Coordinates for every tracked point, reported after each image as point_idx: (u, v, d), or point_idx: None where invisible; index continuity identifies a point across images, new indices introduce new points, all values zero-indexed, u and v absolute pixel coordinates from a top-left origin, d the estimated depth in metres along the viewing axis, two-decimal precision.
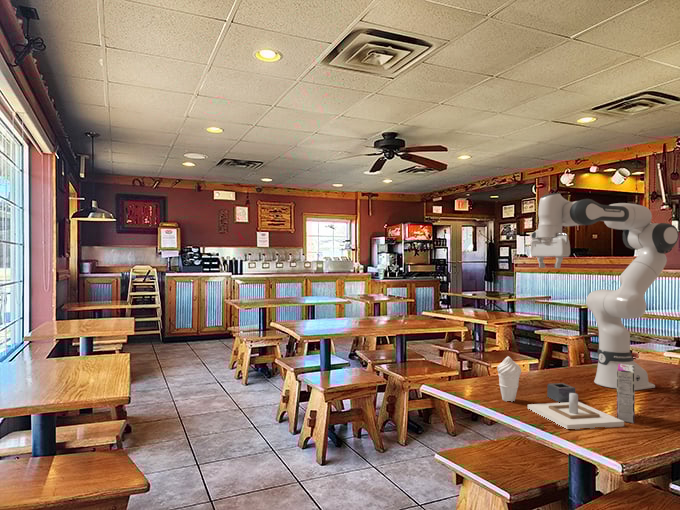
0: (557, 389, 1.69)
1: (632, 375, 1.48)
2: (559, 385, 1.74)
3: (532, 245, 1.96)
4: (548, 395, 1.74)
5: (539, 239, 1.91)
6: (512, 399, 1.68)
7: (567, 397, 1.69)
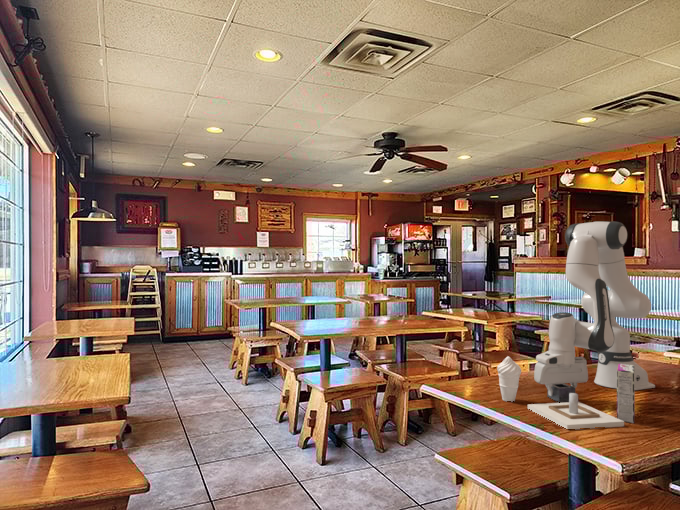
0: (557, 389, 1.69)
1: (632, 375, 1.48)
2: (559, 385, 1.74)
3: (544, 371, 1.68)
4: (548, 395, 1.74)
5: (557, 365, 1.69)
6: (512, 399, 1.68)
7: (567, 397, 1.69)
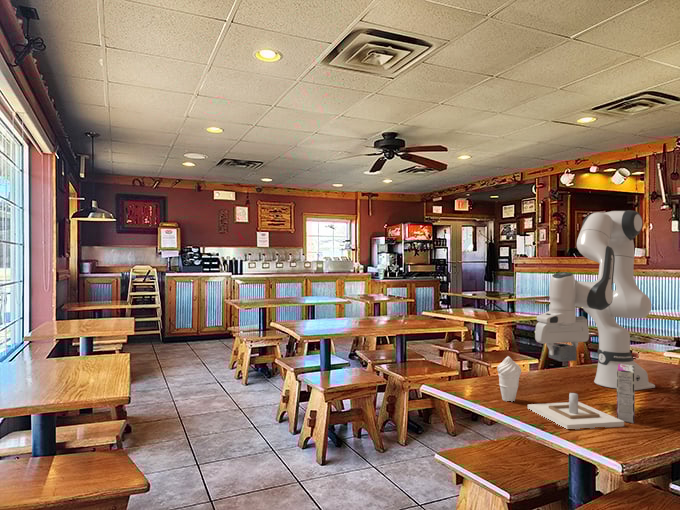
0: (558, 348, 1.70)
1: (632, 375, 1.48)
2: (560, 345, 1.75)
3: (545, 331, 1.69)
4: (549, 355, 1.74)
5: (558, 324, 1.69)
6: (512, 399, 1.68)
7: (568, 356, 1.69)
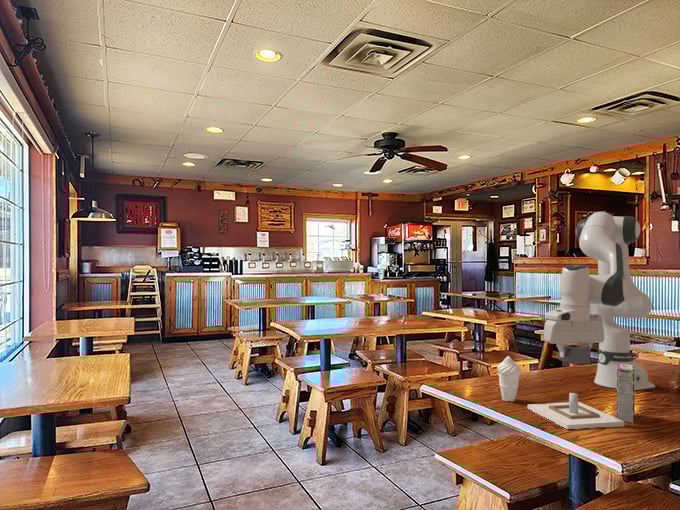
0: (569, 349, 1.50)
1: (632, 375, 1.48)
2: (572, 346, 1.55)
3: (556, 329, 1.49)
4: (559, 357, 1.55)
5: (570, 322, 1.50)
6: (512, 399, 1.68)
7: (581, 358, 1.50)
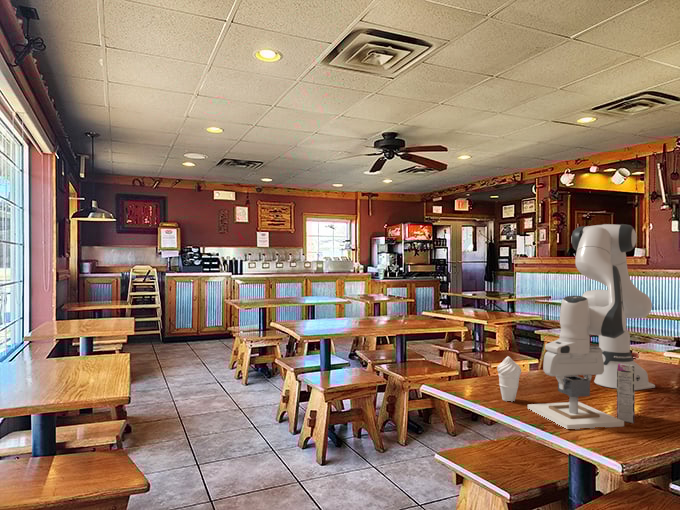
0: (569, 382, 1.50)
1: (632, 375, 1.48)
2: (571, 377, 1.55)
3: (555, 362, 1.49)
4: (559, 389, 1.55)
5: None
6: (512, 399, 1.68)
7: (581, 391, 1.50)
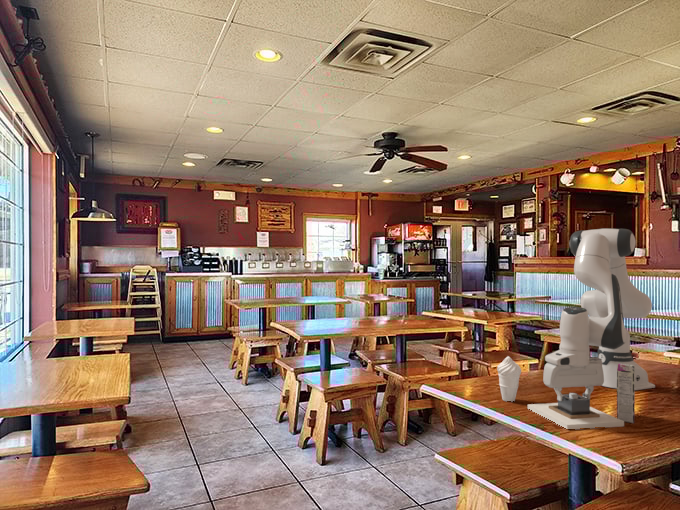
0: (569, 401, 1.50)
1: (632, 375, 1.48)
2: None
3: (555, 373, 1.49)
4: (559, 407, 1.55)
5: (570, 366, 1.50)
6: (512, 399, 1.68)
7: (581, 410, 1.50)
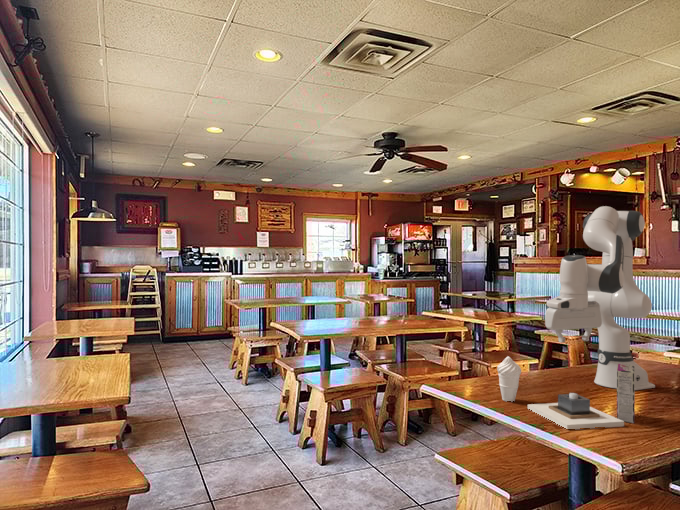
0: (569, 401, 1.50)
1: (632, 375, 1.48)
2: None
3: (556, 316, 1.59)
4: (559, 407, 1.55)
5: (569, 309, 1.60)
6: (512, 399, 1.68)
7: (581, 410, 1.50)
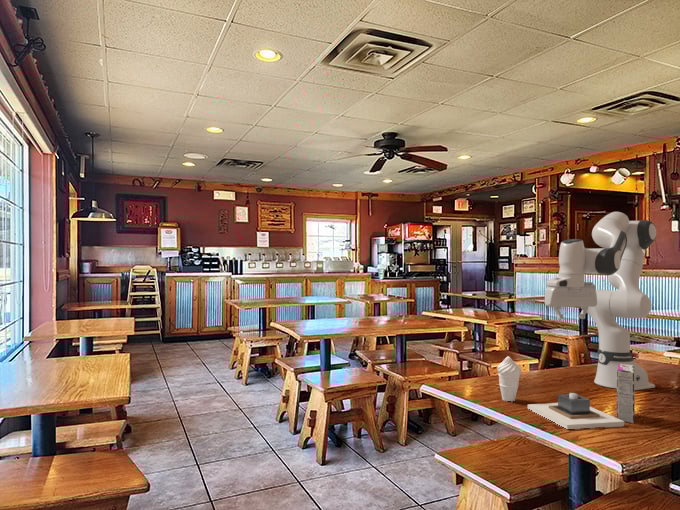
0: (569, 401, 1.50)
1: (632, 375, 1.48)
2: None
3: (555, 294, 1.73)
4: (559, 407, 1.55)
5: (567, 288, 1.74)
6: (512, 399, 1.68)
7: (581, 410, 1.50)
